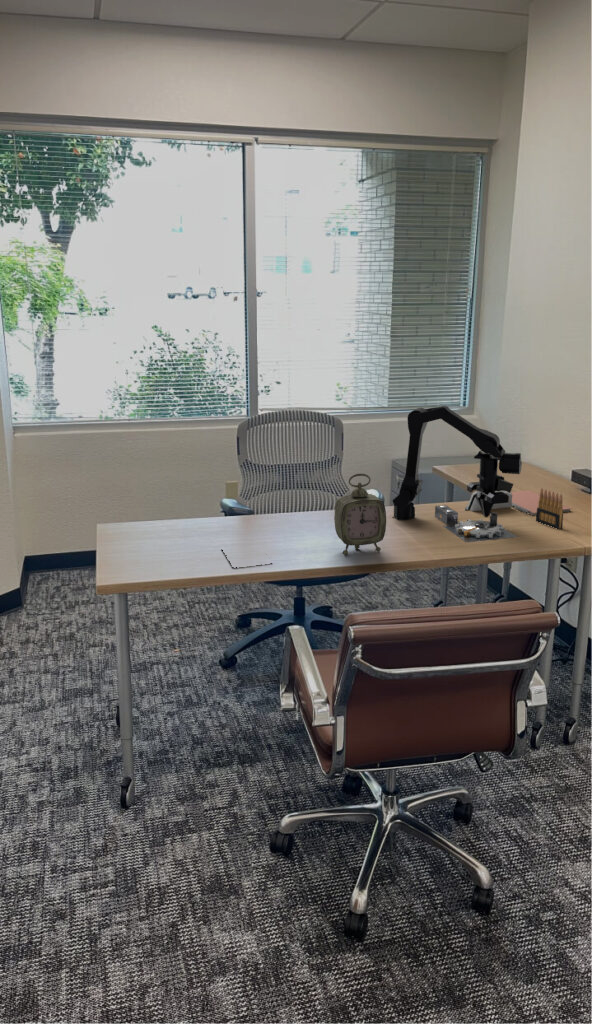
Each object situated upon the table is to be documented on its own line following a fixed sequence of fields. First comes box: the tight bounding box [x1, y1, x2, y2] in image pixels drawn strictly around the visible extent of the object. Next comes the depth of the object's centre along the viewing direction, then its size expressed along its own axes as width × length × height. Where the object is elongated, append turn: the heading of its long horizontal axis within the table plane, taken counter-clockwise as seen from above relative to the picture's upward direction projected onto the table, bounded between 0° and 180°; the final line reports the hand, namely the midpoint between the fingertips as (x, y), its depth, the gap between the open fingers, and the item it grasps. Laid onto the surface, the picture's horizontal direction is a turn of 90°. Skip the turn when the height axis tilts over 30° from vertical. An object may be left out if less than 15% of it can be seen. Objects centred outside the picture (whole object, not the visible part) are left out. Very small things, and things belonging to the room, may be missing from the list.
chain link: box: [434, 504, 459, 525], centre depth 262 cm, size 4×10×5 cm, turn 13°
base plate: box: [442, 520, 518, 543], centre depth 249 cm, size 18×18×1 cm
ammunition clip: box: [535, 488, 564, 530], centre depth 255 cm, size 11×2×12 cm, turn 26°
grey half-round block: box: [464, 489, 512, 512], centre depth 274 cm, size 17×5×10 cm, turn 107°
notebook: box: [511, 489, 572, 516], centre depth 282 cm, size 27×17×2 cm, turn 16°
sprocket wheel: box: [454, 511, 505, 538], centre depth 248 cm, size 16×16×6 cm
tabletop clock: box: [333, 473, 387, 556], centre depth 233 cm, size 14×9×25 cm, turn 103°
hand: (486, 517), depth 254 cm, fingers closed
